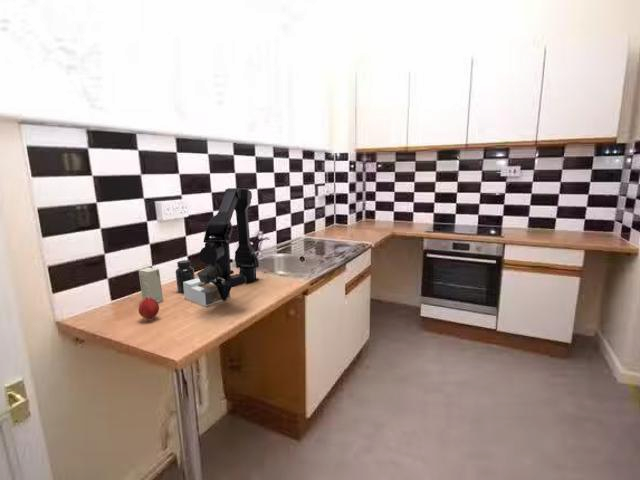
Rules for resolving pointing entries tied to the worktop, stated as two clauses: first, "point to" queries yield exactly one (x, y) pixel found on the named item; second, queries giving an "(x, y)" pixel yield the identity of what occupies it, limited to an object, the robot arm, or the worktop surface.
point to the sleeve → (199, 292)
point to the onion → (148, 308)
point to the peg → (214, 291)
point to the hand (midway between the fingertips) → (224, 300)
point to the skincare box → (151, 284)
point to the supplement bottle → (183, 274)
